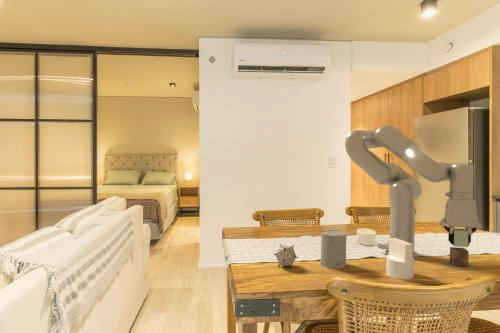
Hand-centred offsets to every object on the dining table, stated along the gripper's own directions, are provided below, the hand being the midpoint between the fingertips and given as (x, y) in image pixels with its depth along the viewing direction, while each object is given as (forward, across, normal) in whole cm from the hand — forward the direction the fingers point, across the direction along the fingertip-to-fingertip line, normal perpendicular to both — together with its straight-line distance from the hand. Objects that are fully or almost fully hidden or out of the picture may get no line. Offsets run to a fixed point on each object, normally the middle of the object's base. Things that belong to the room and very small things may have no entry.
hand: (459, 243), depth 135 cm
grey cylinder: (+9, -46, -12) cm, 48 cm away
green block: (+1, 0, 0) cm, 1 cm away
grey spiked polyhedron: (+9, -63, -19) cm, 66 cm away
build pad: (+9, 0, 0) cm, 9 cm away
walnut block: (+8, 0, 0) cm, 8 cm away
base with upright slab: (+9, -23, -17) cm, 30 cm away
